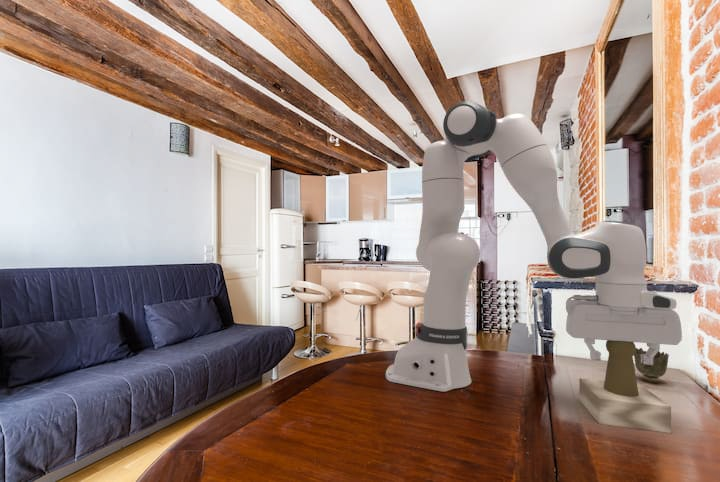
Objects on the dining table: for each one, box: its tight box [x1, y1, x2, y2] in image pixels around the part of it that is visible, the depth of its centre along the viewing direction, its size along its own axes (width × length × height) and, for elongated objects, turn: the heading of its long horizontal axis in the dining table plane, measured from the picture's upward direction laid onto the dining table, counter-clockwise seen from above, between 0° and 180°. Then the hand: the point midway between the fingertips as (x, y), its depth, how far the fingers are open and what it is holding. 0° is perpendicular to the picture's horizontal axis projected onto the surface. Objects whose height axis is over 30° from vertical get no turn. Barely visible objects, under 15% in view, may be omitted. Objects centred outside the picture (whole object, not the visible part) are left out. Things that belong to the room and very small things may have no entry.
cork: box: [604, 340, 639, 397], centre depth 75 cm, size 6×6×11 cm
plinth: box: [578, 377, 672, 434], centre depth 75 cm, size 12×12×5 cm
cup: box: [633, 347, 670, 384], centre depth 95 cm, size 8×7×8 cm
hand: (620, 361), depth 75 cm, fingers open, 8 cm apart
